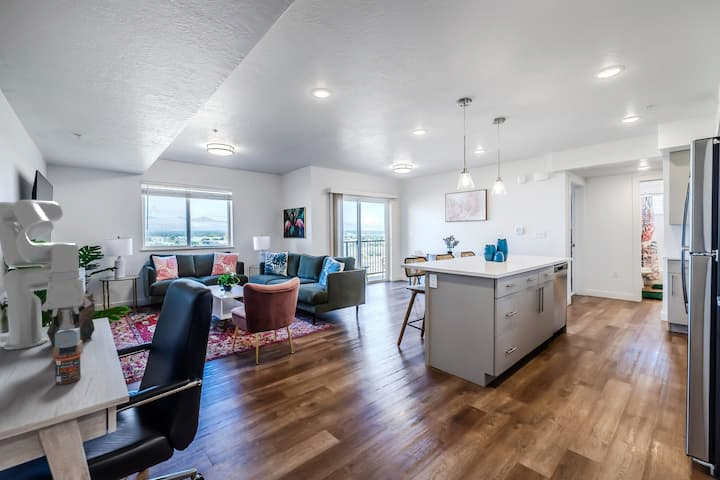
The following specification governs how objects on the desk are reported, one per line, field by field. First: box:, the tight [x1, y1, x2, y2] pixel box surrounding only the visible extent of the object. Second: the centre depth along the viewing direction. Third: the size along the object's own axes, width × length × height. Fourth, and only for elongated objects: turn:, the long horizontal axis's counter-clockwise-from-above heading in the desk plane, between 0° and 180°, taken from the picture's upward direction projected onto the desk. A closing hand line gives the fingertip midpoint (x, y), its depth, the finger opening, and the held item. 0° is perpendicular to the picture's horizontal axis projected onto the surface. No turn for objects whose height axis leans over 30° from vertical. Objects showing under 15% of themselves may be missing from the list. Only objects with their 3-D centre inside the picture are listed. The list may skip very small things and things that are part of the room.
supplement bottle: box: [54, 343, 82, 386], centre depth 99 cm, size 6×6×11 cm
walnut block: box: [52, 340, 84, 363], centre depth 119 cm, size 7×7×5 cm
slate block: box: [54, 328, 80, 348], centre depth 119 cm, size 6×6×5 cm
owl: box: [46, 292, 96, 347], centre depth 136 cm, size 13×13×20 cm
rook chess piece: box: [59, 307, 75, 330], centre depth 119 cm, size 4×4×8 cm
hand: (67, 324), depth 119 cm, fingers closed on rook chess piece, 4 cm apart
